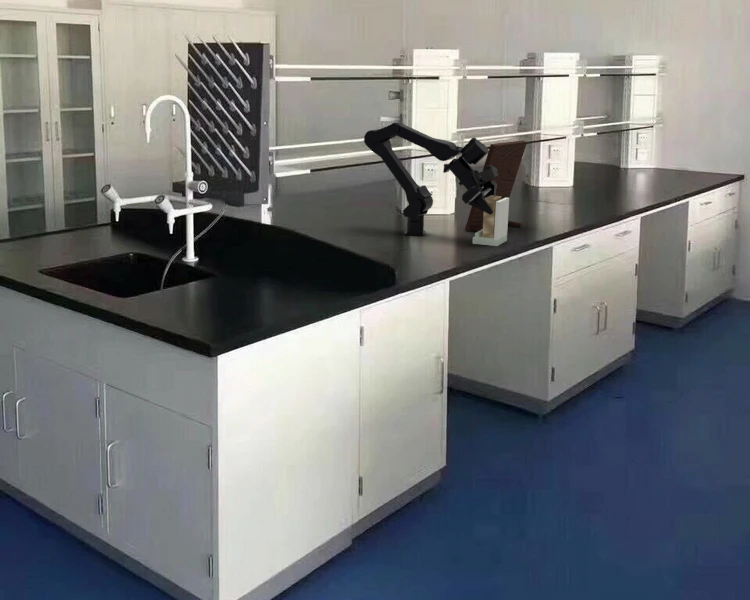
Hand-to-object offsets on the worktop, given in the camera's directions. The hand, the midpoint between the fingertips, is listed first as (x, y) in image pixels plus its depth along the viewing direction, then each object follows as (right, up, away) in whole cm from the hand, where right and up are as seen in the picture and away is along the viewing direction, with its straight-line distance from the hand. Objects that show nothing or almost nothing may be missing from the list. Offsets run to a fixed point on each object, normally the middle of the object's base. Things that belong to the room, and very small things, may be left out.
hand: (496, 211), depth 287 cm
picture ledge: (-2, -9, +3) cm, 10 cm away
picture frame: (+3, -4, +26) cm, 26 cm away
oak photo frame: (-1, -8, +3) cm, 8 cm away
